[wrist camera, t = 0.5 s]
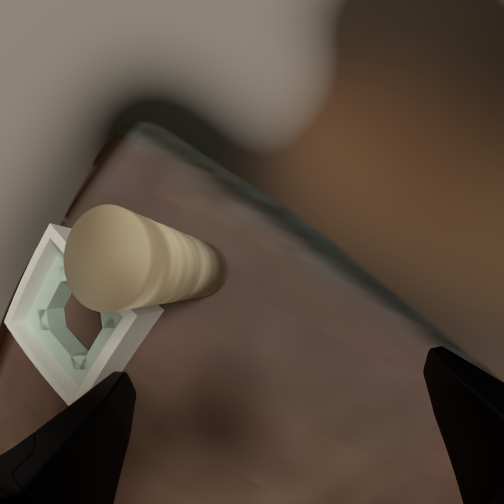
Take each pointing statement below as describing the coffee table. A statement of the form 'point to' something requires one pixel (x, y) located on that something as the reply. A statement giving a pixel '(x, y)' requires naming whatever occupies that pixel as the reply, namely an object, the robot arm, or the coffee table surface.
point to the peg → (137, 262)
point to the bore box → (59, 336)
